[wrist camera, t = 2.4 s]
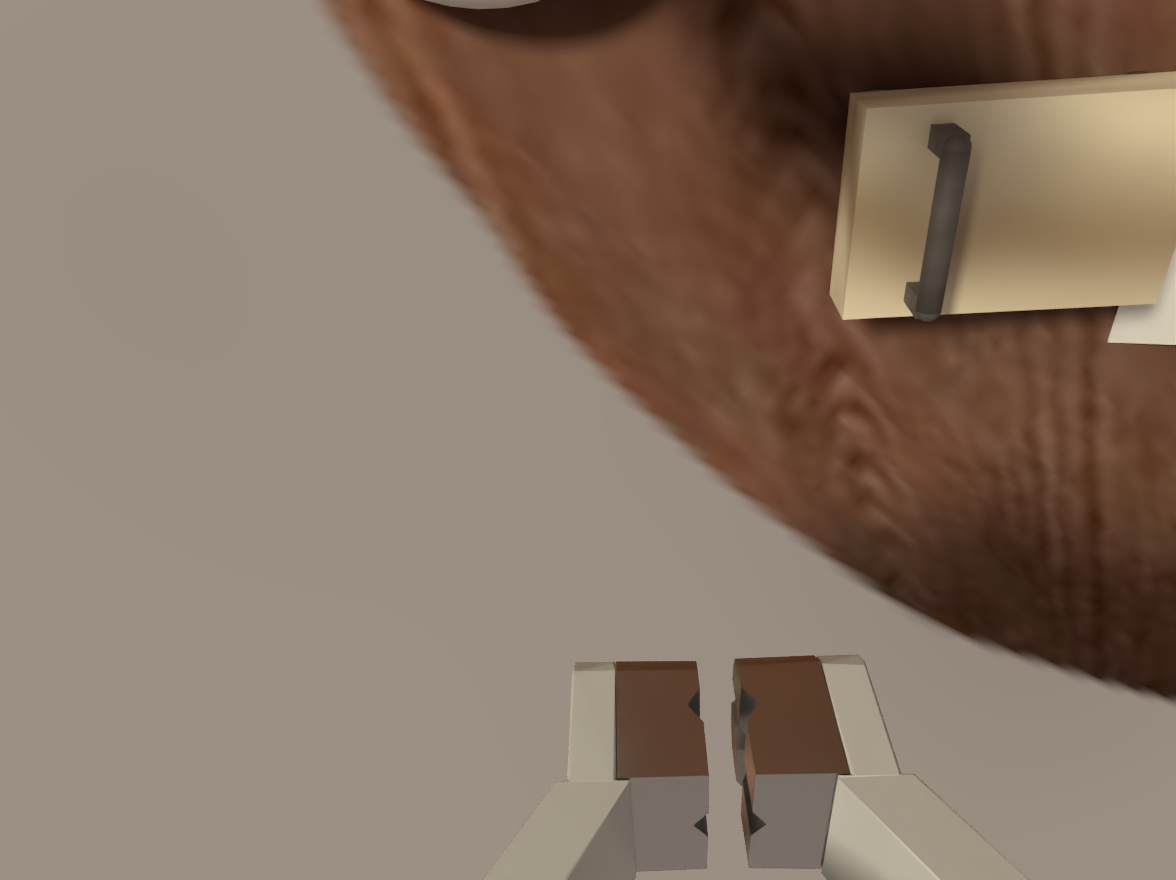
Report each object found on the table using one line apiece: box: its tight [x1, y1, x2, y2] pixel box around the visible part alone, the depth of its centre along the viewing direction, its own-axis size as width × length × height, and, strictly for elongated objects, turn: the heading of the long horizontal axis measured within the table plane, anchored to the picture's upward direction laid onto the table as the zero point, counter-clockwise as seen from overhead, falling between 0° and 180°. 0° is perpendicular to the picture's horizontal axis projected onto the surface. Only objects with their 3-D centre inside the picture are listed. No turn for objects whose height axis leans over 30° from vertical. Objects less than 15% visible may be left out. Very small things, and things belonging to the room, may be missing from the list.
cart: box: [830, 71, 1176, 322], centre depth 24 cm, size 6×9×5 cm, turn 94°
